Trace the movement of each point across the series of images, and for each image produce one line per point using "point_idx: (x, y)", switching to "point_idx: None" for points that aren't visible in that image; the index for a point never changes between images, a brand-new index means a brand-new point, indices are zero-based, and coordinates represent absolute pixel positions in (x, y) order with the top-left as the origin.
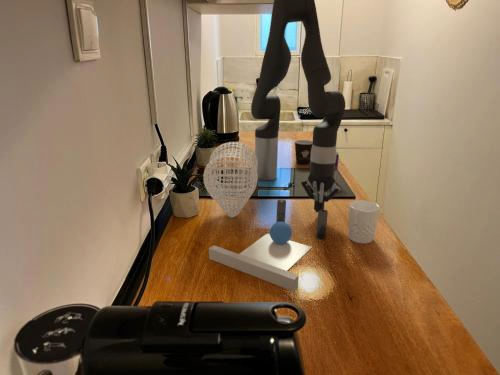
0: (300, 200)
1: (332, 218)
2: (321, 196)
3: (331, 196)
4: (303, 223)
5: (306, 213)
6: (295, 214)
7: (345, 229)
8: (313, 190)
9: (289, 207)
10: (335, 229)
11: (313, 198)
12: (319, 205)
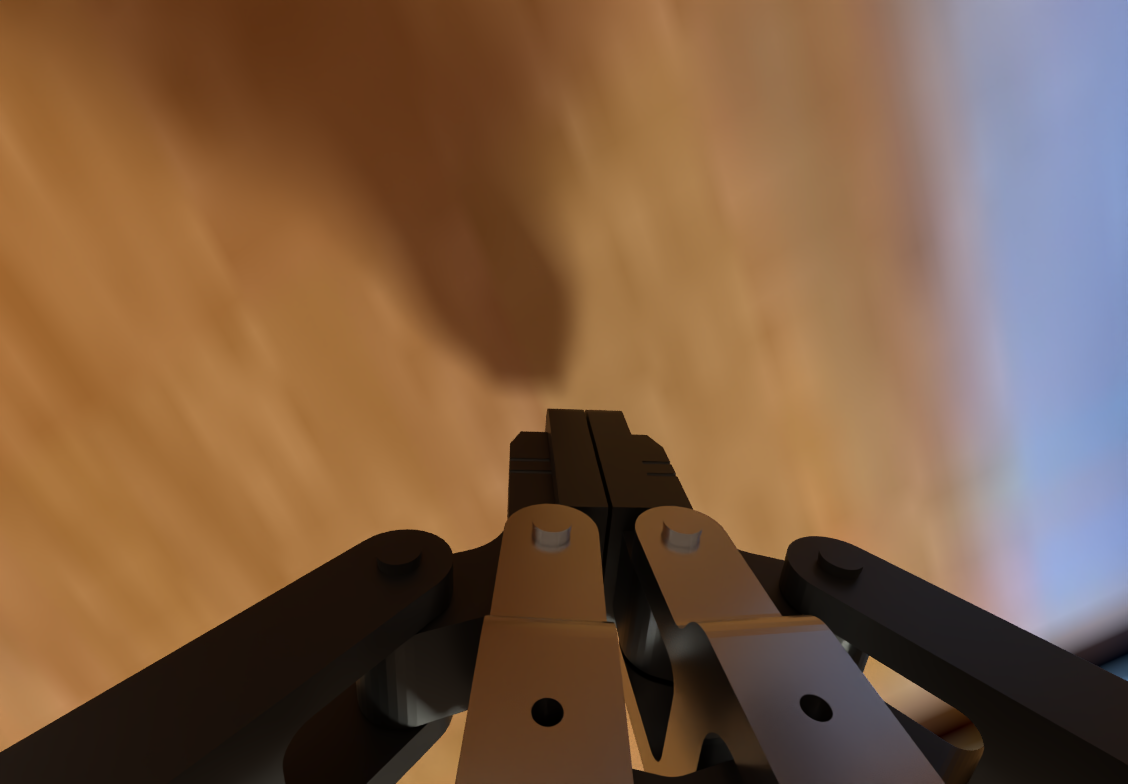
0: (901, 688)
1: (377, 449)
2: (547, 615)
3: (182, 678)
4: (686, 44)
5: (744, 412)
6: (881, 302)
7: (22, 197)
8: (883, 712)
9: (998, 464)
10: (144, 106)
11: (748, 564)
12: (566, 469)
